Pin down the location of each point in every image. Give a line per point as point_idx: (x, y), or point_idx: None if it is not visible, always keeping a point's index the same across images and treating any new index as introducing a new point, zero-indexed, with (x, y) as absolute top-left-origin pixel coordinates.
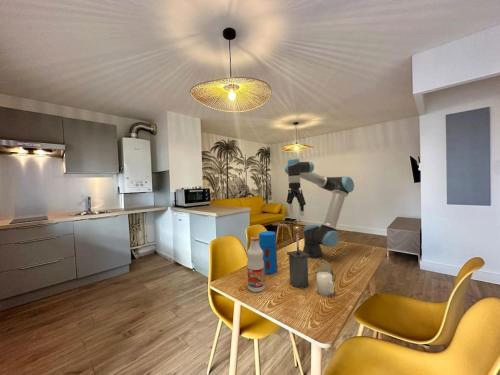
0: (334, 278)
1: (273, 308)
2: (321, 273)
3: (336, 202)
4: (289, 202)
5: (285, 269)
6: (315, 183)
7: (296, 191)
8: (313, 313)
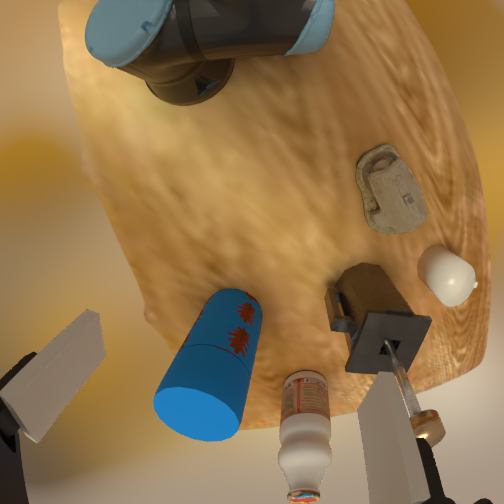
0: (416, 180)
1: None
2: (449, 285)
3: None
4: (16, 450)
5: (253, 260)
6: None
7: None
8: (451, 341)
